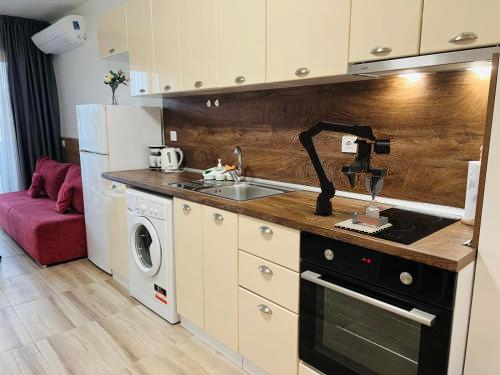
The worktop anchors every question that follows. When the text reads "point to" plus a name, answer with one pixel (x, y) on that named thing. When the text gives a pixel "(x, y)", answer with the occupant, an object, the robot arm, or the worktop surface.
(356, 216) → the locking bar
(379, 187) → the wine glass
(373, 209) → the pepper shaker
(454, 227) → the worktop surface
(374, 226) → the lock base
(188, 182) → the worktop surface
